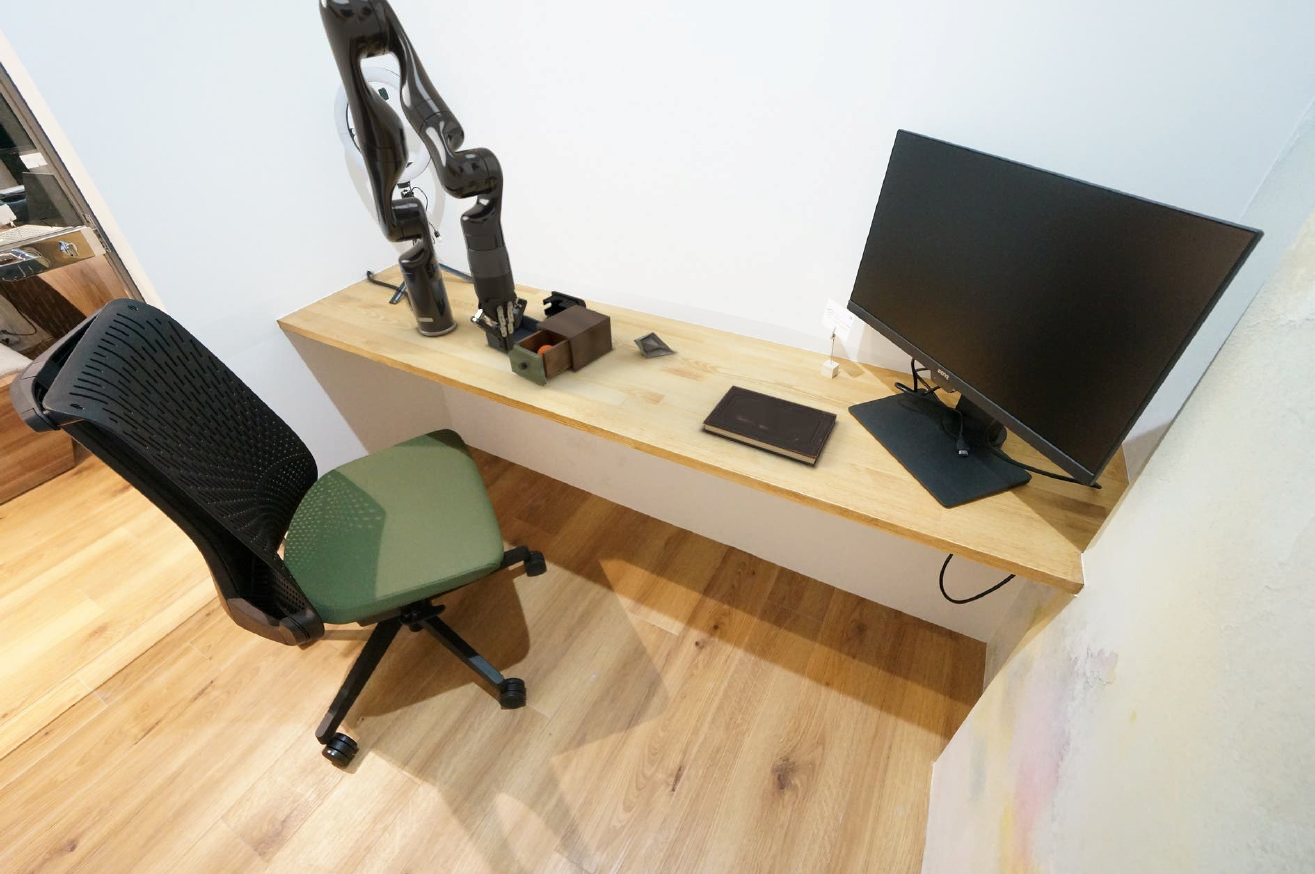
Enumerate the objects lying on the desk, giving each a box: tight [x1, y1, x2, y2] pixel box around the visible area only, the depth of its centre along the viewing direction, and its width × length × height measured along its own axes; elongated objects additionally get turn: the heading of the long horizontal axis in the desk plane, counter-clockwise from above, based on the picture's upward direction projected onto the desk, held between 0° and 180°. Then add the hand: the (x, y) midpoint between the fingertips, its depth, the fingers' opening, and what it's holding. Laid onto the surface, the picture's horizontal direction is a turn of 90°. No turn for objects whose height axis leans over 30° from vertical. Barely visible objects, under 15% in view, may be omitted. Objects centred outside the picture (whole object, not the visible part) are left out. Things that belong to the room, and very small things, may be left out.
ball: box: [538, 345, 553, 365], centre depth 124 cm, size 5×5×5 cm
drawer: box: [508, 329, 572, 387], centre depth 124 cm, size 14×10×7 cm
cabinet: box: [536, 305, 613, 373], centre depth 130 cm, size 14×12×9 cm
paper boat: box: [632, 331, 675, 358], centre depth 130 cm, size 12×6×9 cm
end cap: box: [542, 290, 587, 320], centre depth 146 cm, size 10×7×7 cm
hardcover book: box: [702, 384, 838, 468], centre depth 109 cm, size 16×23×2 cm
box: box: [484, 314, 542, 356], centre depth 136 cm, size 14×12×5 cm
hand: (507, 349), depth 111 cm, fingers closed
